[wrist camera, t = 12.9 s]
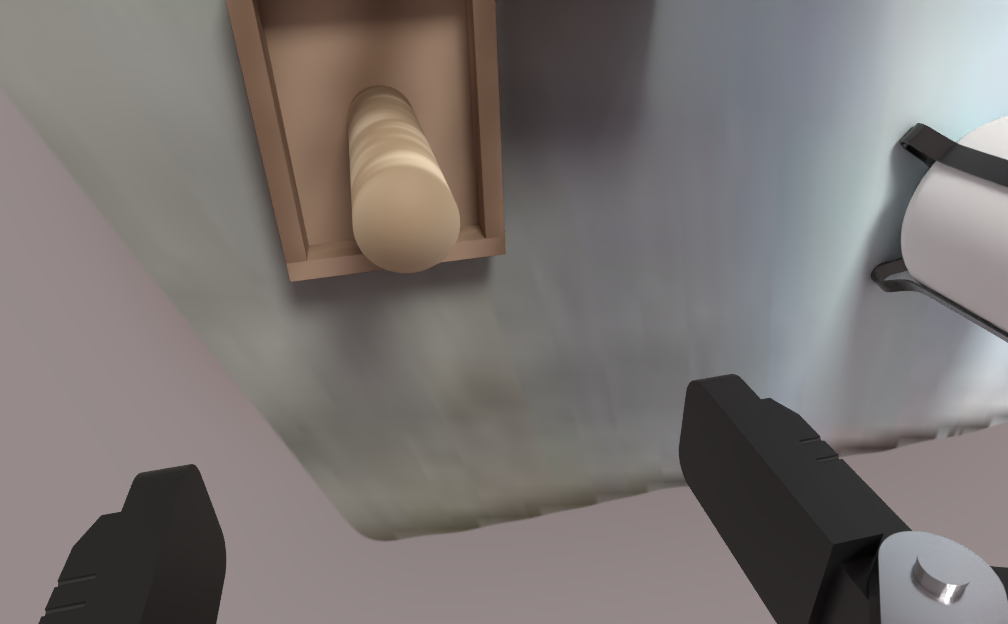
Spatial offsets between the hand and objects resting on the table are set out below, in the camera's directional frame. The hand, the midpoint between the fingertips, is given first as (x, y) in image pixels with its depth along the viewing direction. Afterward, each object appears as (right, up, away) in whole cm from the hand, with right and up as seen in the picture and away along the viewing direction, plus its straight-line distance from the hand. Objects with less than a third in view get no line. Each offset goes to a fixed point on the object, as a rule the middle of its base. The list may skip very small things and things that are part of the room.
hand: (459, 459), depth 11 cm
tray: (-5, +12, +21) cm, 25 cm away
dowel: (-5, +12, +20) cm, 24 cm away
